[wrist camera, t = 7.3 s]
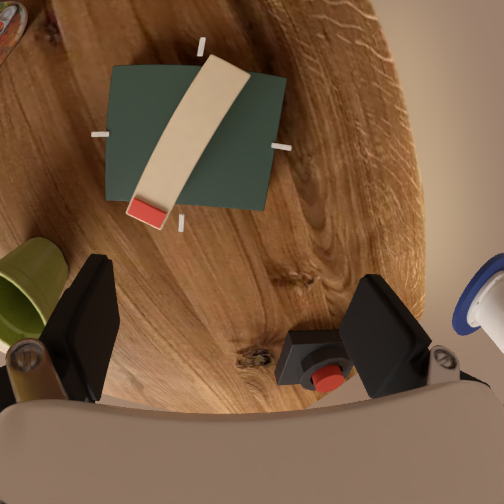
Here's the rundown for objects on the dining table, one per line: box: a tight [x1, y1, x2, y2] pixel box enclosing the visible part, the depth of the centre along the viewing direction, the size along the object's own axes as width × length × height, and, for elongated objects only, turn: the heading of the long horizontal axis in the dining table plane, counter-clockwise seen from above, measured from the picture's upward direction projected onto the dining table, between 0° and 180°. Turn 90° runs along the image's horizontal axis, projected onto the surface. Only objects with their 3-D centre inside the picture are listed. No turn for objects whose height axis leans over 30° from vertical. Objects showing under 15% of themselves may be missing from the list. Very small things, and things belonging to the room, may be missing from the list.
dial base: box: [91, 37, 292, 232], centre depth 19 cm, size 14×14×3 cm
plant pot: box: [0, 237, 68, 347], centre depth 20 cm, size 9×9×9 cm
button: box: [312, 364, 344, 392], centre depth 31 cm, size 4×4×2 cm
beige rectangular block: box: [126, 54, 251, 230], centre depth 16 cm, size 10×2×5 cm, turn 148°
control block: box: [275, 330, 354, 391], centre depth 33 cm, size 10×8×4 cm
